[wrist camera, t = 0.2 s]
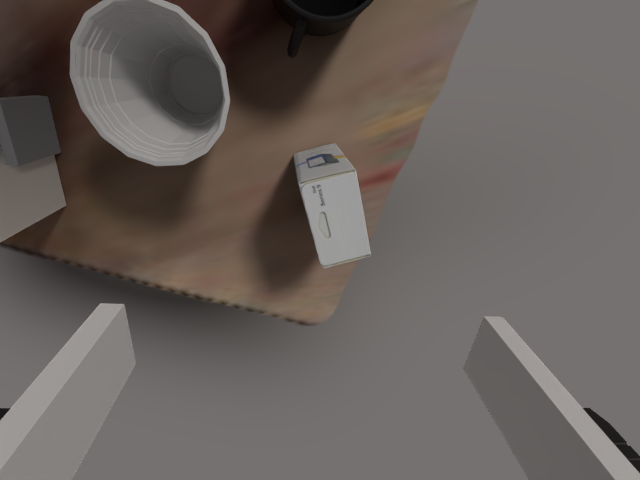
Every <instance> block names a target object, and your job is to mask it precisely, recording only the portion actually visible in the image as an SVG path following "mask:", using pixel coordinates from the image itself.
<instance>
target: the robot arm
mask: <svg viewBox="0 0 640 480" xmlns="http://www.w3.org/2000/svg"><path fill="white" fill-rule="evenodd" d="M135 364H136V361H135V356H134V352H133V346H132V342H131V336H130V331H129V326H128V321H127V316H126V311H125V305H124V304H102V303H101V304H100V305H99V306H98V307H97V308H96V309H95V310H94V312H93V313H92V314H91V315H90V316H89V317H88V319H87V320H86V321H85V322H84V323H83V325H82V326H81V327H80V328H79V329H78V330H77V331H76V333H75V334H74V335H73V336H72V337H71V338H70V340H69V341H68V342H67V343H66V345H64V347H63V348H62V349H61V350H60V351H59V352H58V354H57V355H56V356H55V357H54V358H53V359H52V361H51V362H50V363H49V364H48V365H47V367H46V368H45V369H44V370H43V371H42V372H41V373H40V375H39V376H38V377H37V378H36V379H35V381H34V382H33V383H32V384H31V385H30V386H29V388H28V389H27V390H26V391H25V392H24V393H23V395H22V396H21V397H20V398H19V399H18V401H17V402H16V403H15V404H14V405H13V406H12V407H11V408H9V409H4V408H3V409H1V408H0V480H72V478H73V476H74V475H75V473H76V471H77V469H78V467H79V466H80V464H81V462H82V460H83V458H84V457H85V455H86V453H87V451H88V449H89V447H90V446H91V444H92V442H93V440H94V438H95V436H96V435H97V433H98V431H99V429H100V427H101V426H102V424H103V422H104V420H105V418H106V417H107V415H108V413H109V411H110V409H111V408H112V405H113V404H114V402H115V400H116V398H117V397H118V395H119V393H120V391H121V389H122V388H123V386H124V384H125V382H126V380H127V378H128V377H129V375H130V373H131V371H132V369H133V367H134V366H135ZM464 370H465V372H466V374H467V375H468V377H469V379H470V380H471V382H472V384H473V385H474V387H475V389H476V391H477V392H478V394H479V396H480V397H481V399H482V401H483V403H484V404H485V406H486V408H487V409H488V411H489V412H490V414H491V416H492V418H493V419H494V421H495V423H496V425H497V426H498V428H499V430H500V431H501V433H502V435H503V437H504V438H505V440H506V442H507V443H508V445H509V447H510V448H511V450H512V452H513V453H514V455H515V457H516V459H517V460H518V462H519V464H520V465H521V467H522V469H523V470H524V472H525V474H526V476H527V477H528V479H529V480H640V456H639V455H638V454H637V453H636V452H635V451H634V450H633V449H632V447H631V446H628V445H627V444H626V441H625V440H624V439H623V438H622V437H621V436H620V434H619V433H618V432H617V431H616V430H615V429H614V428H613V427H612V426H611V425H610V424H609V423H608V422H607V421H605V420H604V419H603V418H602V417H600V416H599V415H598V414H596V413H595V412H594V411H592V410H591V409H590V408H582V407H581V406H580V405H579V404H578V403H577V402H576V400H575V399H574V398H573V397H572V396H571V395H570V393H569V392H568V391H567V390H566V389H565V388H564V387H563V385H562V384H561V383H560V382H559V381H558V380H557V379H556V377H555V376H554V375H553V374H552V373H551V372H550V371H549V370H548V368H547V367H546V366H545V365H544V364H543V363H542V361H541V360H540V359H539V358H538V357H537V356H536V355H535V354H534V352H533V351H532V350H531V349H530V348H529V347H528V346H527V344H526V343H525V342H524V341H523V340H522V339H521V338H520V337H519V335H518V334H517V333H516V332H515V331H514V330H513V328H512V327H511V326H510V325H509V324H508V323H507V322H506V321H505V319H504V318H503V317H484V318H483V320H482V323H481V325H480V328H479V331H478V333H477V335H476V338H475V341H474V343H473V345H472V348H471V351H470V353H469V355H468V358H467V360H466V363H465V366H464Z"/></svg>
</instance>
